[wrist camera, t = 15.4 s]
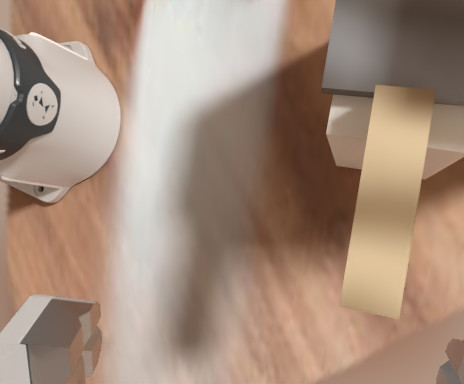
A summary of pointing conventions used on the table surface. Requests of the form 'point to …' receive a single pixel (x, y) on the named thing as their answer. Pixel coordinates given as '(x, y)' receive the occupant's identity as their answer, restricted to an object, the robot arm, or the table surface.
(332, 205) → the table surface
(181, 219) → the table surface
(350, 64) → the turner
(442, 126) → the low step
